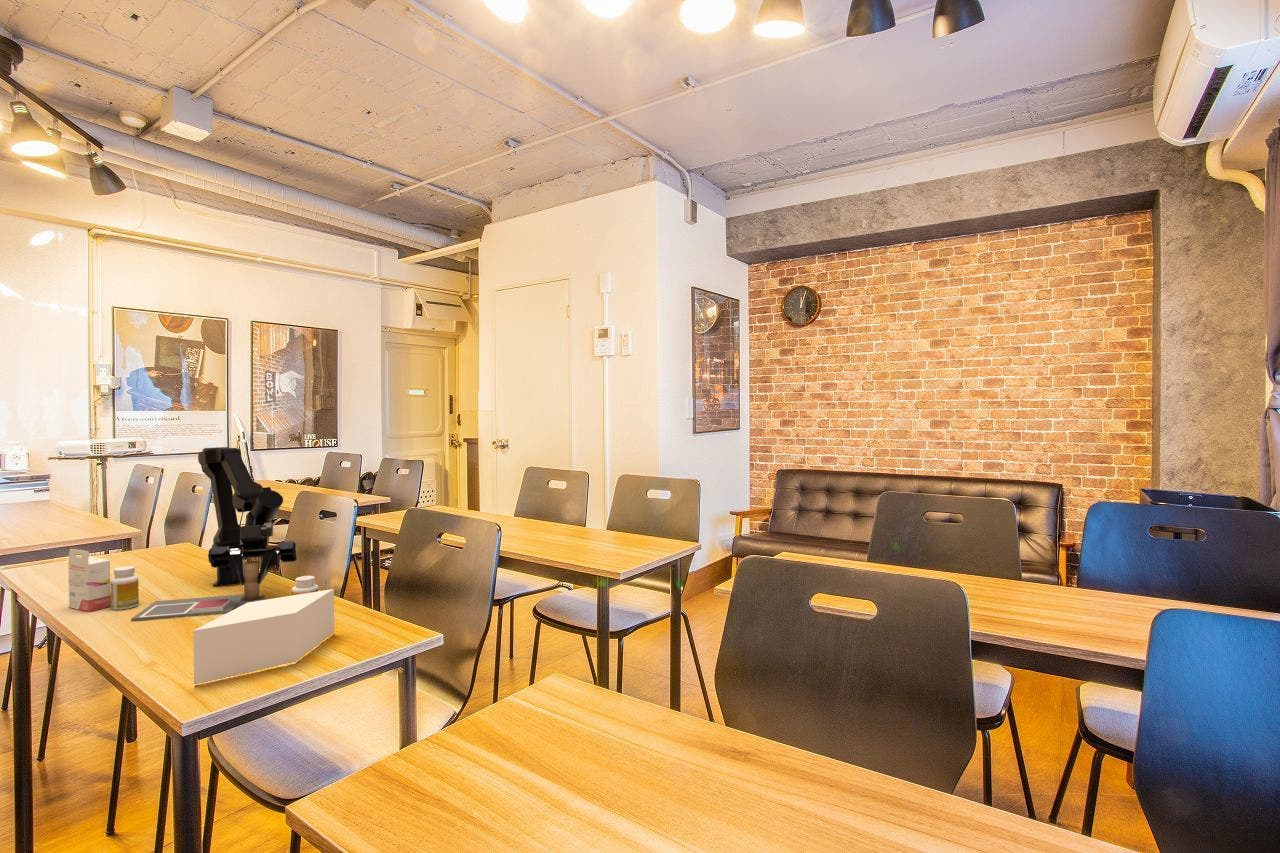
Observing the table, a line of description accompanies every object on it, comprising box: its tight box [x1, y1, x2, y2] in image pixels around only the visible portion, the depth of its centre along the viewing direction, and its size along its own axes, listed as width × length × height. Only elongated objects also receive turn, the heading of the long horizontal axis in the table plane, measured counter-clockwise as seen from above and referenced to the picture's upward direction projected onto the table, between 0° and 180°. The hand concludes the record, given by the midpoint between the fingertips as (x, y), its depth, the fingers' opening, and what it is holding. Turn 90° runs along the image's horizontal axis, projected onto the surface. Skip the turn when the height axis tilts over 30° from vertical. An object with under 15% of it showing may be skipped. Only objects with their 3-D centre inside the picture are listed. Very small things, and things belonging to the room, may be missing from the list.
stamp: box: [237, 560, 266, 608], centre depth 156 cm, size 5×5×12 cm
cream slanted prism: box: [192, 588, 335, 685], centre depth 126 cm, size 14×29×10 cm, turn 155°
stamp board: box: [130, 593, 244, 622], centre depth 156 cm, size 14×20×2 cm
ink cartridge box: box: [67, 548, 111, 613], centre depth 156 cm, size 9×5×15 cm, turn 68°
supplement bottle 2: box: [291, 575, 320, 596], centre depth 147 cm, size 6×6×10 cm
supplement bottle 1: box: [110, 565, 140, 611], centre depth 157 cm, size 5×5×10 cm
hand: (250, 583), depth 154 cm, fingers closed on stamp, 3 cm apart
